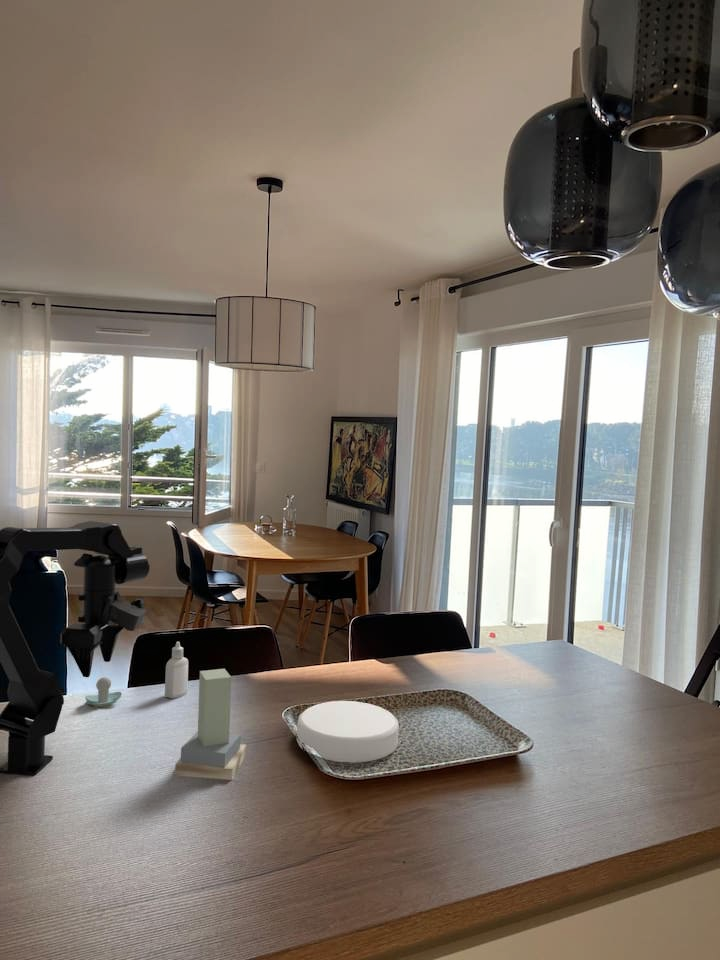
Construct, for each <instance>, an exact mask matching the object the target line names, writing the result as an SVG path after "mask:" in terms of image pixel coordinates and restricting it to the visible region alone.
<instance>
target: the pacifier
mask: <svg viewBox="0 0 720 960" xmlns="http://www.w3.org/2000/svg"><path fill="white" fill-rule="evenodd" d="M111 686H112V680H111V679H110V678H109V677H106V676H104V677H101V678H99V679H98V680H97V682H96V684H95V687H96V690H97V691H98V692H97V694H95V695H94V694H91V695H90V694H89V695H85V696H84V697H85V700H86V701H85V703H86V704H87V705H90V706H94V707H95V708H104V707H109V706H112V704H113V703H115V702H117V701H118V700H120V699H121V697H122V692H121V691H115V692H110V690H109V689H110V688H111Z"/></svg>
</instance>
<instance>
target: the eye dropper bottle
mask: <svg viewBox="0 0 720 960" xmlns="http://www.w3.org/2000/svg"><path fill="white" fill-rule="evenodd" d="M165 664H166V665H165V678H164V679H165V680H164V682H165V683H164V697H165V698H168V699H177V698H180V697H182V696H184V695H185V694H187V693H188V686H189V685H188V684H189V659H188V658H187V657H184V647H182V646H181V643H180V641H176V643H175V646H174V647H172V648H171V658H169V660H168V661H167V662H166V663H165Z"/></svg>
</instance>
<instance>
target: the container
mask: <svg viewBox="0 0 720 960" xmlns="http://www.w3.org/2000/svg"><path fill="white" fill-rule="evenodd" d="M296 724H297V725H296V737H297V736H298V738H299V739H300V742H299V741H298V739H297V738H296V741H297V744H298V746H299V748H301V749H302V750H303V748H302V745H301V742H303V743H305V744H306V745H308V746H309V747H311V748H313V749H314V750H315V751H316V752H317V753H318V754H319V755H320V756H321V757H322V758H324V759H323V760H327V761H332V762H338V763H339V762H340V763H363V762H365V763H366V762H373V761H375V760H379V759H383V758H386V757H387V756H389V755H391V754H392V753H394V752H395V750H396V749H397V747H399V732H400V731H399V730H400V727H399V721H398V719H397V717H395V716H394V715H393V714H392V712H390V711H388V710H387V709H384V708H383V707H381V706H378V705H375V704H371V703H367V702H361V701H351V700H350V701H349V700H336V701H326V702H322V703H317V704H314V705H313V706H311V707H307V708H306V709H305V710H304V711H303V712H302V713H301V714H299V716H298V719H297V723H296ZM322 758H321V759H322Z"/></svg>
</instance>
